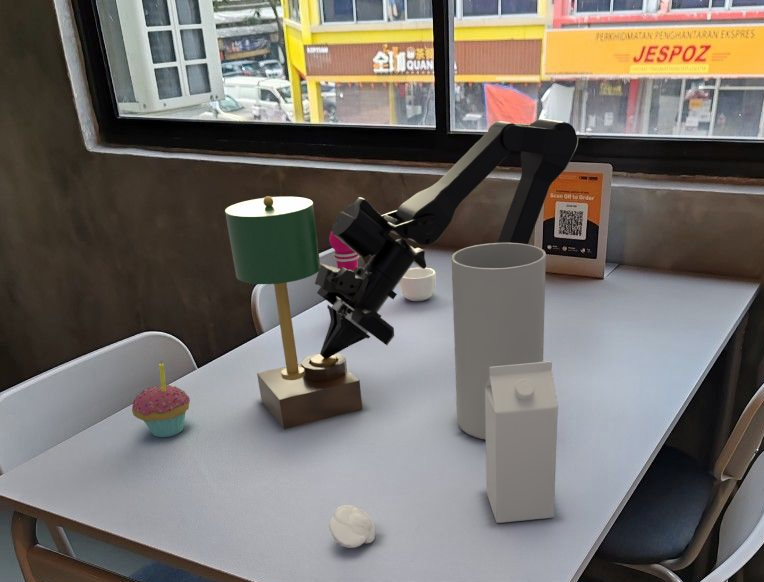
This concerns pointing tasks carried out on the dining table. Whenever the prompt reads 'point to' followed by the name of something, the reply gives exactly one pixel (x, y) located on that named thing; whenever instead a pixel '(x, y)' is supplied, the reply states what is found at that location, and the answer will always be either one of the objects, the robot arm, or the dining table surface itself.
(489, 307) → the cylinder vase
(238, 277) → the desk lamp
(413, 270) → the teacup
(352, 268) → the pepper mill
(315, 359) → the button
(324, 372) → the lamp base
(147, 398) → the cupcake
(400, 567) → the dining table surface
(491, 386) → the milk carton
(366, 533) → the dumpling
